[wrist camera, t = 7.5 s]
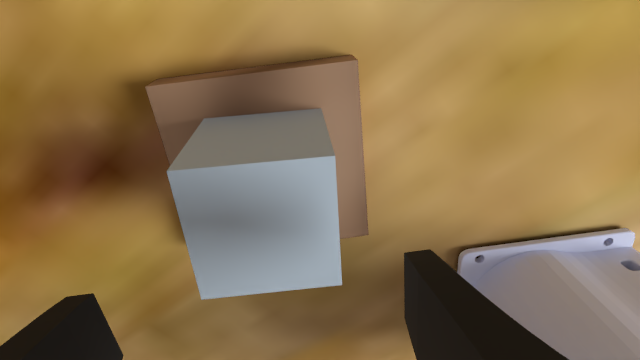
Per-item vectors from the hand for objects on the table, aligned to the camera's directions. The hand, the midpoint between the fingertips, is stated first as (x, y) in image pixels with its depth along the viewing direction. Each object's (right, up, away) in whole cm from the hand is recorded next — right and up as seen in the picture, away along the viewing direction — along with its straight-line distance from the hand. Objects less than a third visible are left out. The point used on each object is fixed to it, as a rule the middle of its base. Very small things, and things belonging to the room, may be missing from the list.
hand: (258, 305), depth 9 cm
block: (-1, +4, +7) cm, 8 cm away
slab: (-1, +4, +9) cm, 10 cm away
